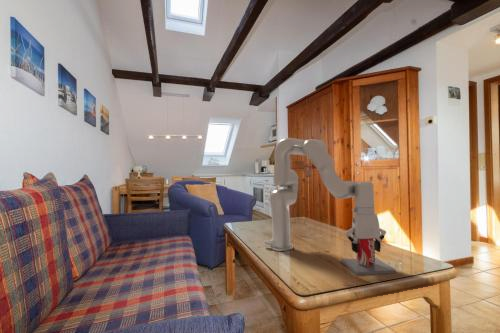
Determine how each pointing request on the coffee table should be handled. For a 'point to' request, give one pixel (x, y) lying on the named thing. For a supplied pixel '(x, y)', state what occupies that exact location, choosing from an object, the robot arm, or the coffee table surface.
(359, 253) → the soda can
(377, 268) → the slate board
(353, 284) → the coffee table surface
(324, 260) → the coffee table surface
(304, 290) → the coffee table surface
